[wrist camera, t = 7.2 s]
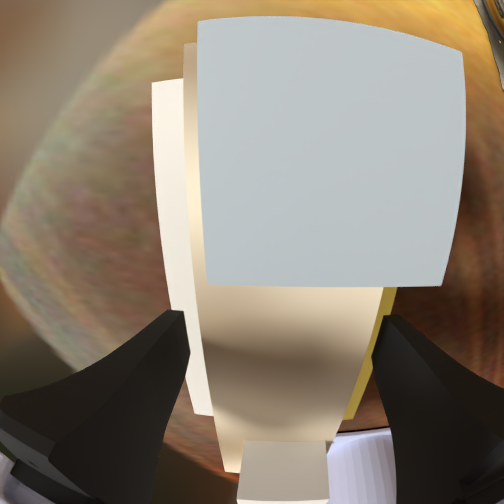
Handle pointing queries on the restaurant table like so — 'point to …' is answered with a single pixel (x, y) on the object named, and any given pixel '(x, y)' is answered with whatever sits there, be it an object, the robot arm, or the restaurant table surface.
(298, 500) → the block
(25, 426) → the robot arm
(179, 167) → the dock
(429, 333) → the restaurant table surface
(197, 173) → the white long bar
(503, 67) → the condiment
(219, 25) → the light grey square block
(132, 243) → the restaurant table surface
